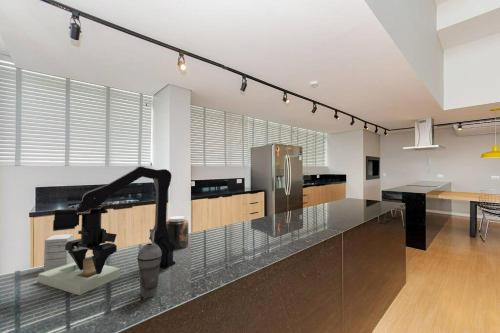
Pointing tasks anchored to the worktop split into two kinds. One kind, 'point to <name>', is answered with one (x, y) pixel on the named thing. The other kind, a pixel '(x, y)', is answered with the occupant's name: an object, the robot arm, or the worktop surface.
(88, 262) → the peg
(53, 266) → the supplement box
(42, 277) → the board
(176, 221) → the jar
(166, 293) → the worktop surface
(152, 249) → the beverage cup
